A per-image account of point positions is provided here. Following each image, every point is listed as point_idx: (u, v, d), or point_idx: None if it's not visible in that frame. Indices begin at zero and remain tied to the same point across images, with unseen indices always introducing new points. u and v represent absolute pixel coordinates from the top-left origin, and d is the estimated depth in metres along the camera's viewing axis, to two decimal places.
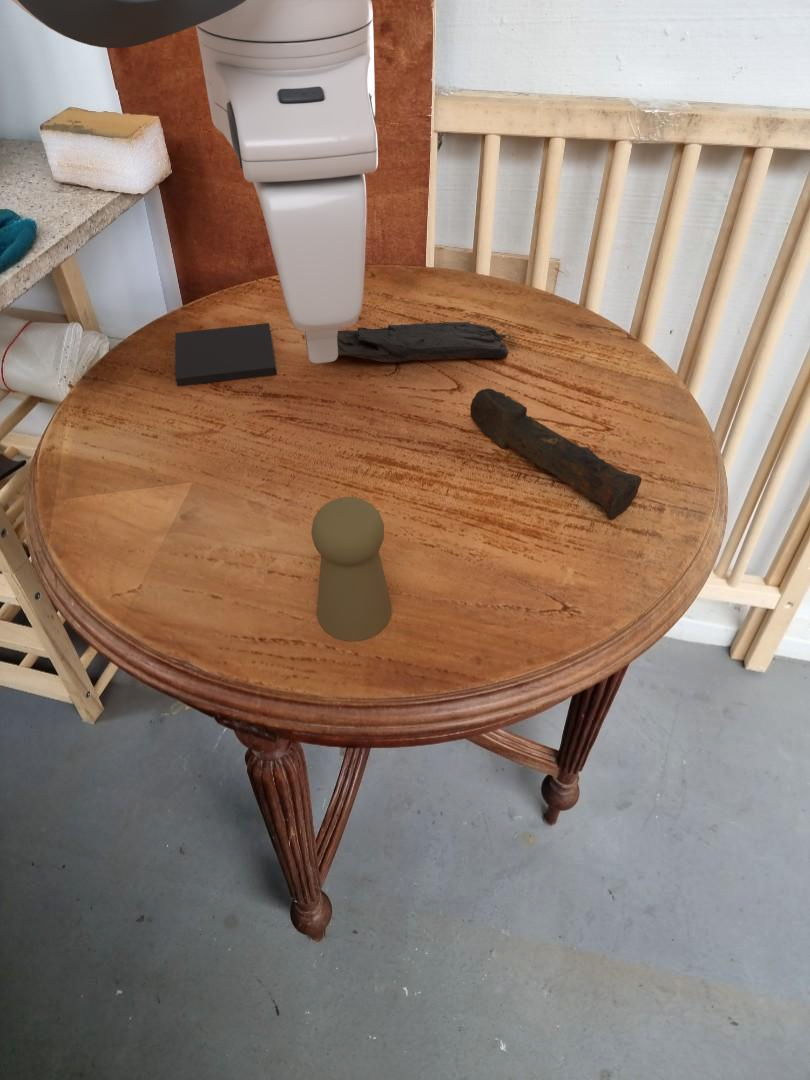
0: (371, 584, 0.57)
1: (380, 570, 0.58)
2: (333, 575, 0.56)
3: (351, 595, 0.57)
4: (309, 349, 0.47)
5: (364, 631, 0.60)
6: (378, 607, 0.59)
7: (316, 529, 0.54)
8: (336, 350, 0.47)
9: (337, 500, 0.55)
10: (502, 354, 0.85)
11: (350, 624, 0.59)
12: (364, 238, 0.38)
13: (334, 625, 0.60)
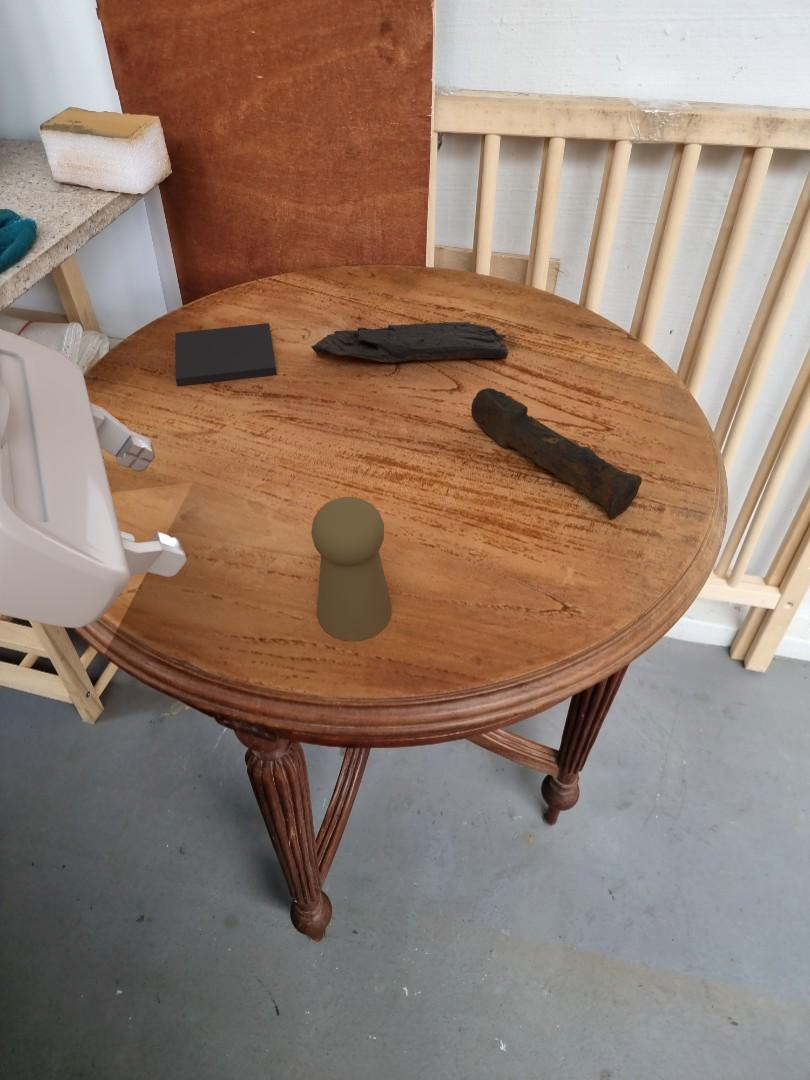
0: (371, 584, 0.57)
1: (380, 570, 0.58)
2: (333, 575, 0.56)
3: (351, 595, 0.57)
4: (156, 573, 0.43)
5: (364, 631, 0.60)
6: (378, 607, 0.59)
7: (316, 529, 0.54)
8: (177, 554, 0.43)
9: (337, 500, 0.55)
10: (502, 354, 0.85)
11: (350, 624, 0.59)
12: (37, 545, 0.33)
13: (334, 625, 0.60)
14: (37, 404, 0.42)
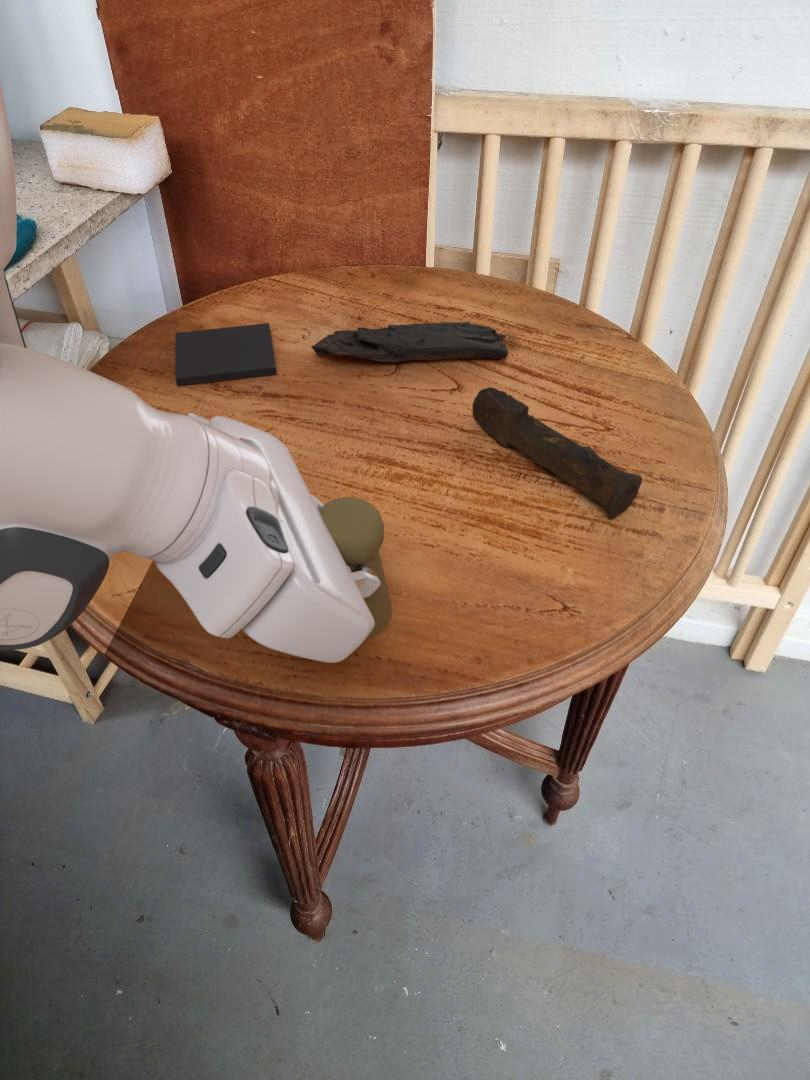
0: None
1: (380, 570, 0.58)
2: None
3: None
4: None
5: None
6: (378, 607, 0.59)
7: None
8: (375, 580, 0.55)
9: (337, 500, 0.55)
10: (502, 354, 0.85)
11: None
12: (326, 603, 0.45)
13: None
14: (278, 483, 0.53)
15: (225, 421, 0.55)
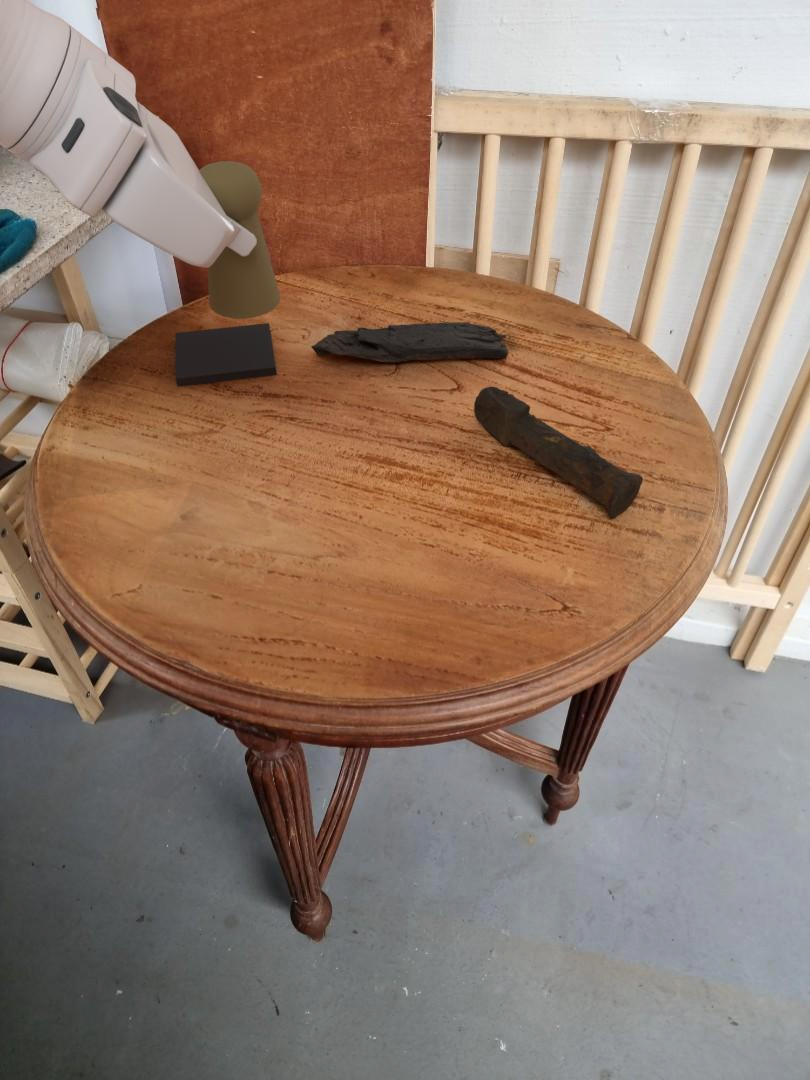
0: (252, 250, 0.61)
1: (262, 241, 0.62)
2: None
3: (233, 260, 0.61)
4: (235, 250, 0.60)
5: (250, 307, 0.64)
6: (262, 282, 0.63)
7: None
8: (250, 235, 0.59)
9: (217, 162, 0.60)
10: (502, 354, 0.85)
11: (236, 297, 0.63)
12: (179, 181, 0.49)
13: (222, 301, 0.64)
14: (157, 133, 0.57)
15: None
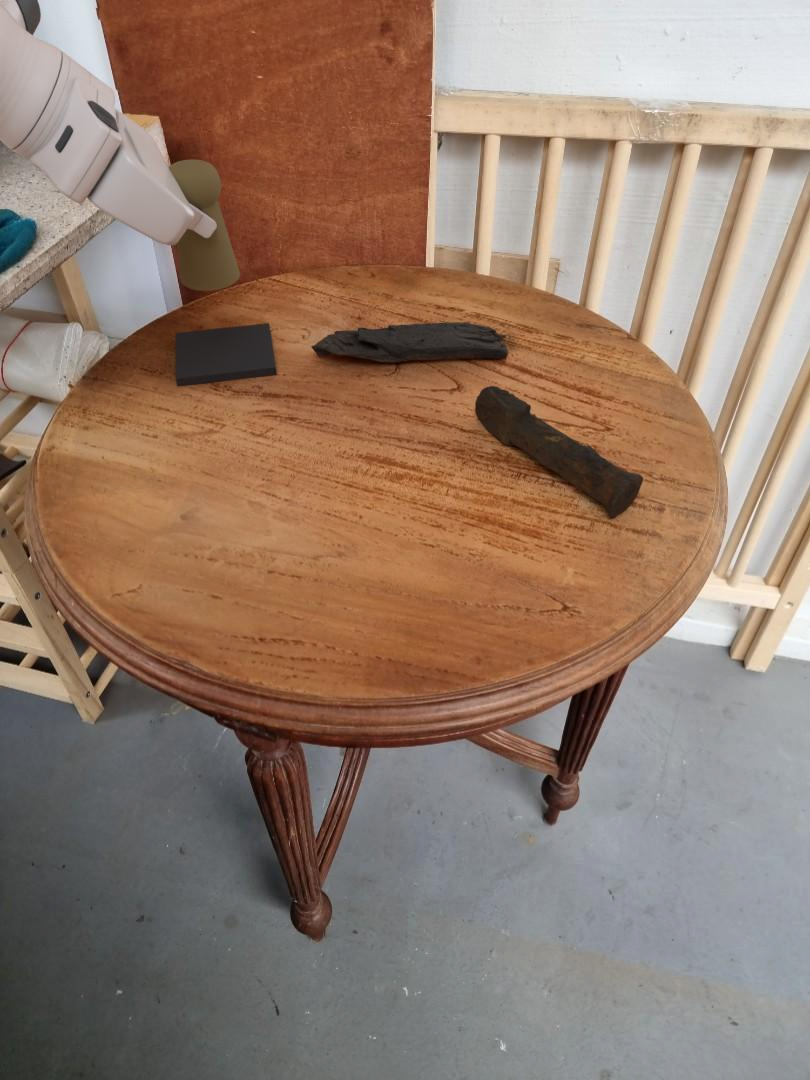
0: (214, 233, 0.74)
1: (222, 225, 0.75)
2: None
3: (198, 241, 0.74)
4: (199, 233, 0.72)
5: (213, 281, 0.77)
6: (223, 260, 0.76)
7: None
8: (211, 220, 0.72)
9: (184, 160, 0.72)
10: (502, 354, 0.85)
11: (201, 272, 0.76)
12: (148, 175, 0.62)
13: (189, 275, 0.77)
14: (133, 137, 0.70)
15: None
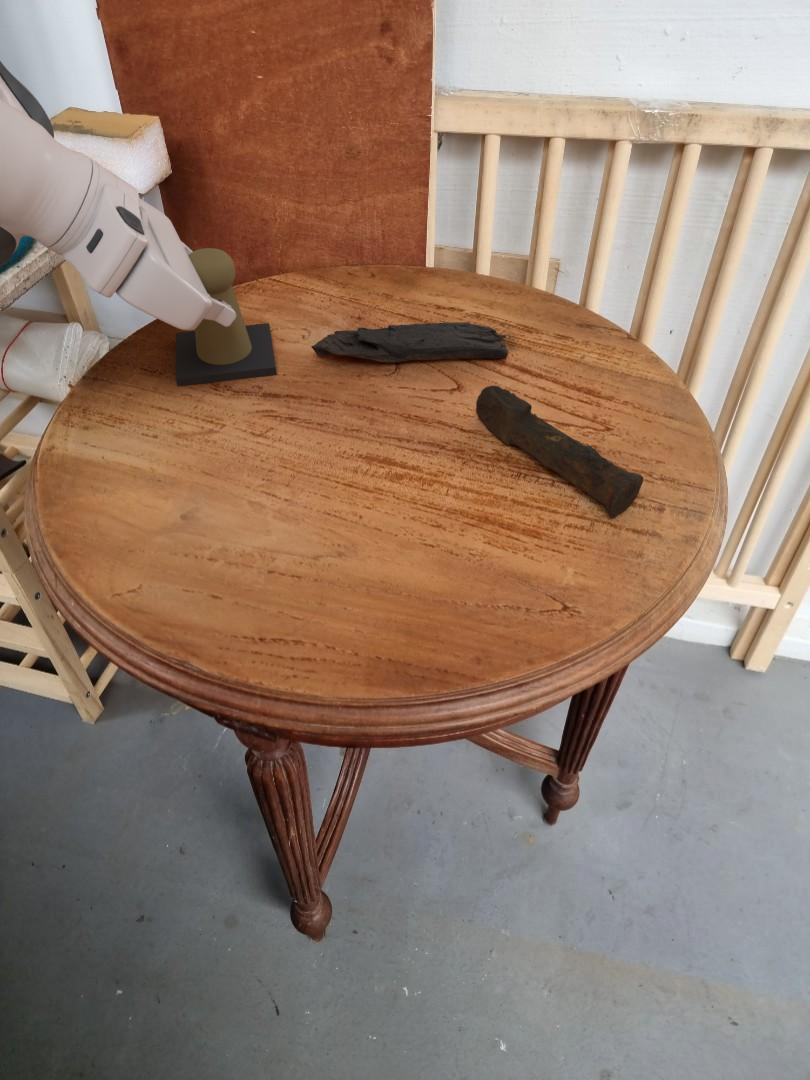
0: None
1: (236, 306, 0.81)
2: None
3: (214, 321, 0.81)
4: (220, 322, 0.77)
5: (227, 356, 0.83)
6: (237, 337, 0.83)
7: None
8: (231, 311, 0.77)
9: (201, 249, 0.79)
10: (502, 354, 0.85)
11: (216, 348, 0.83)
12: (171, 272, 0.68)
13: (205, 351, 0.83)
14: (154, 226, 0.76)
15: None
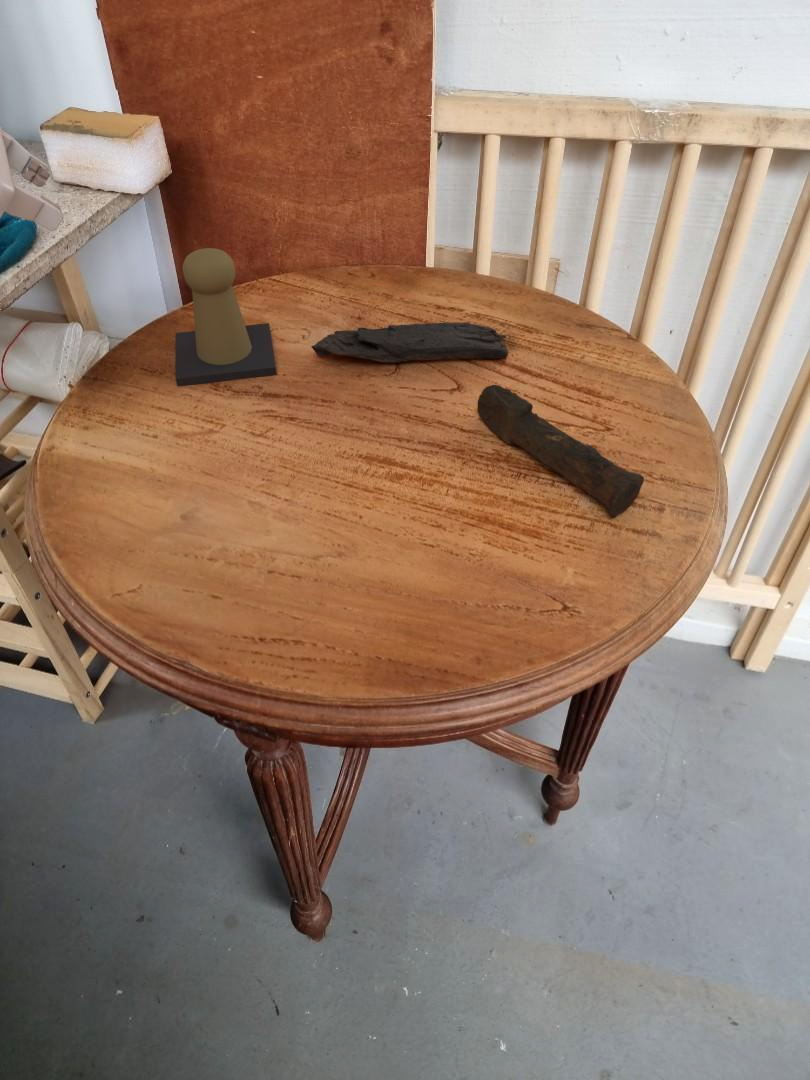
0: (228, 314, 0.81)
1: (236, 306, 0.81)
2: (199, 304, 0.80)
3: (214, 321, 0.81)
4: (42, 225, 0.62)
5: (227, 356, 0.83)
6: (237, 337, 0.83)
7: (184, 264, 0.78)
8: (55, 210, 0.62)
9: (201, 249, 0.79)
10: (502, 354, 0.85)
11: (216, 348, 0.83)
12: None
13: (205, 351, 0.83)
14: None
15: None
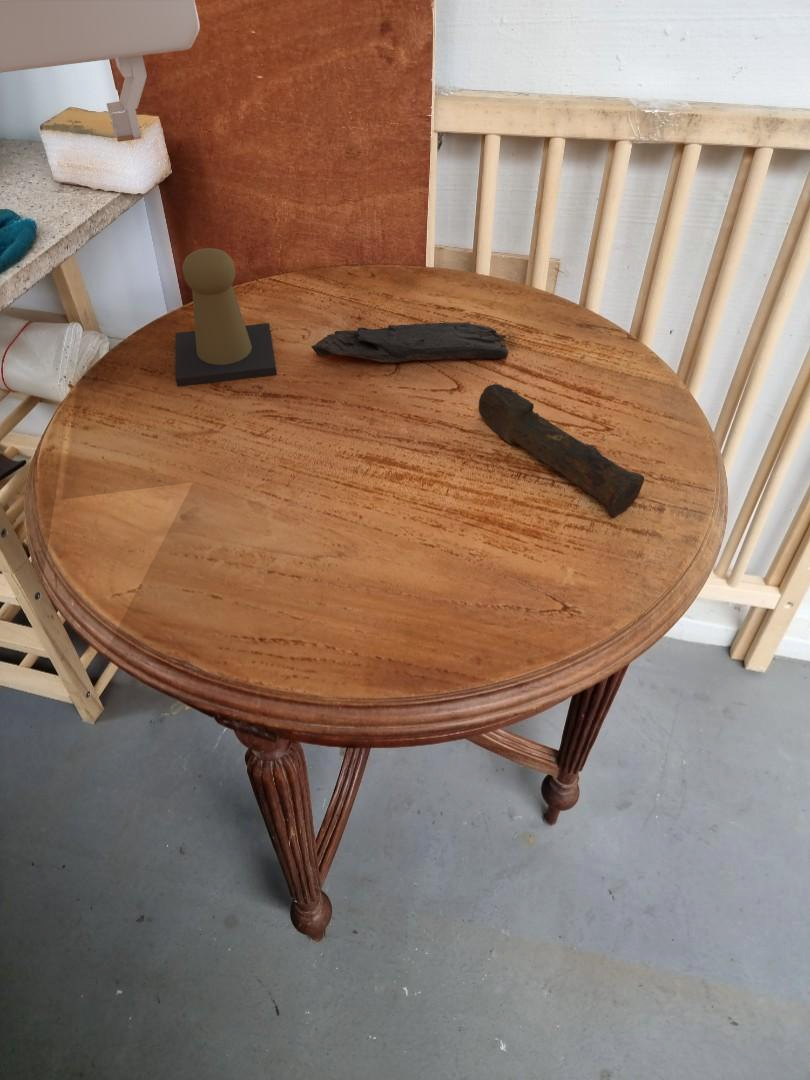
0: (228, 314, 0.81)
1: (236, 306, 0.81)
2: (199, 304, 0.80)
3: (214, 321, 0.81)
4: None
5: (227, 356, 0.83)
6: (237, 337, 0.83)
7: (184, 264, 0.78)
8: None
9: (201, 249, 0.79)
10: (502, 354, 0.85)
11: (216, 348, 0.83)
12: None
13: (205, 351, 0.83)
14: None
15: None
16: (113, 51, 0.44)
